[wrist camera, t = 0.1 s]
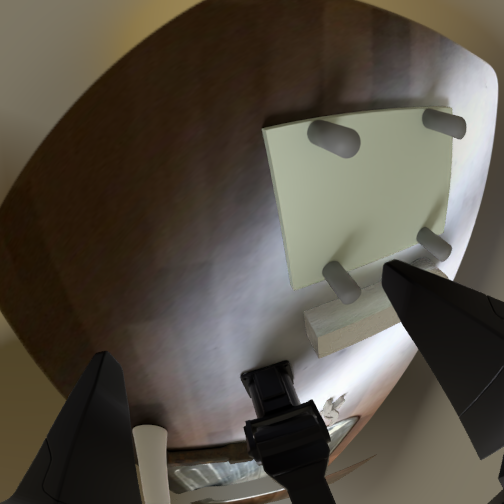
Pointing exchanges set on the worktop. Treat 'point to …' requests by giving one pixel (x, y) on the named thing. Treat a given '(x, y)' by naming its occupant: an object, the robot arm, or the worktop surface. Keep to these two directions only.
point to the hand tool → (209, 456)
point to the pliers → (332, 409)
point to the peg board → (360, 189)
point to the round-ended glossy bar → (354, 317)
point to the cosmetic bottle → (152, 462)
